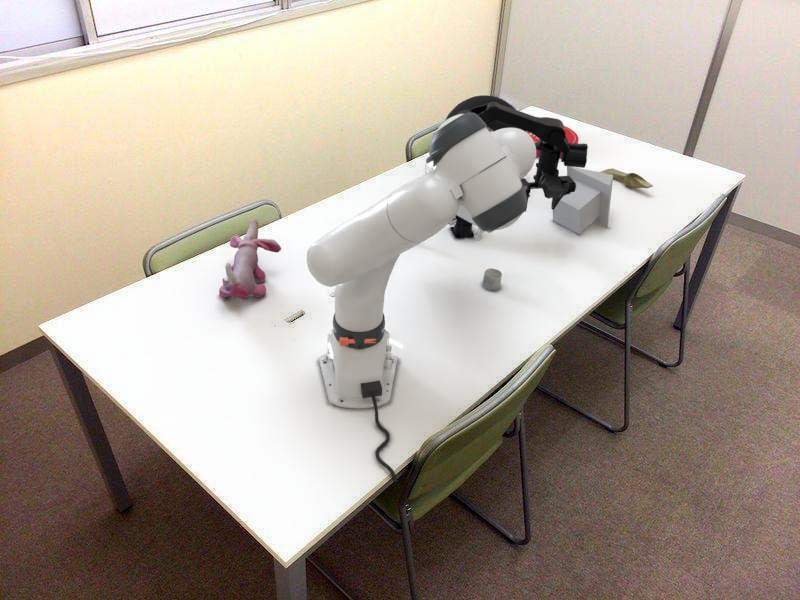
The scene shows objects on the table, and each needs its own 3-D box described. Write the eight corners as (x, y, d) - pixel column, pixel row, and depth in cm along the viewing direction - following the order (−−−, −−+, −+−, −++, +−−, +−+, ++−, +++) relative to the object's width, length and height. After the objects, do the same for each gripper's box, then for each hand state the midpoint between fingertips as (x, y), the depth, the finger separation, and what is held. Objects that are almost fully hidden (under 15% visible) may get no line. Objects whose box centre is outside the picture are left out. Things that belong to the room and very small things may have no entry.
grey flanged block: (632, 205, 220) (636, 162, 206) (586, 246, 212) (587, 205, 199) (592, 185, 229) (593, 144, 216) (546, 224, 222) (544, 183, 209)
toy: (299, 270, 187) (288, 223, 179) (243, 315, 171) (228, 266, 163) (250, 258, 196) (238, 213, 188) (193, 300, 180) (176, 253, 172)
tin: (492, 278, 190) (494, 266, 187) (503, 287, 186) (505, 275, 184) (479, 283, 188) (481, 271, 185) (489, 292, 184) (491, 280, 182)
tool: (597, 174, 249) (599, 163, 246) (610, 171, 251) (612, 160, 248) (638, 197, 232) (641, 185, 229) (652, 193, 234) (655, 182, 231)
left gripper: (509, 197, 165) (501, 244, 173) (450, 168, 176) (445, 213, 185) (493, 205, 161) (485, 252, 170) (434, 175, 173) (430, 220, 181)
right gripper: (528, 178, 183) (519, 226, 193) (589, 174, 187) (577, 221, 196) (514, 160, 192) (506, 207, 201) (573, 157, 195) (562, 203, 205)
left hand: (464, 231), depth 177 cm, fingers open, 8 cm apart
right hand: (538, 210), depth 201 cm, fingers open, 9 cm apart
